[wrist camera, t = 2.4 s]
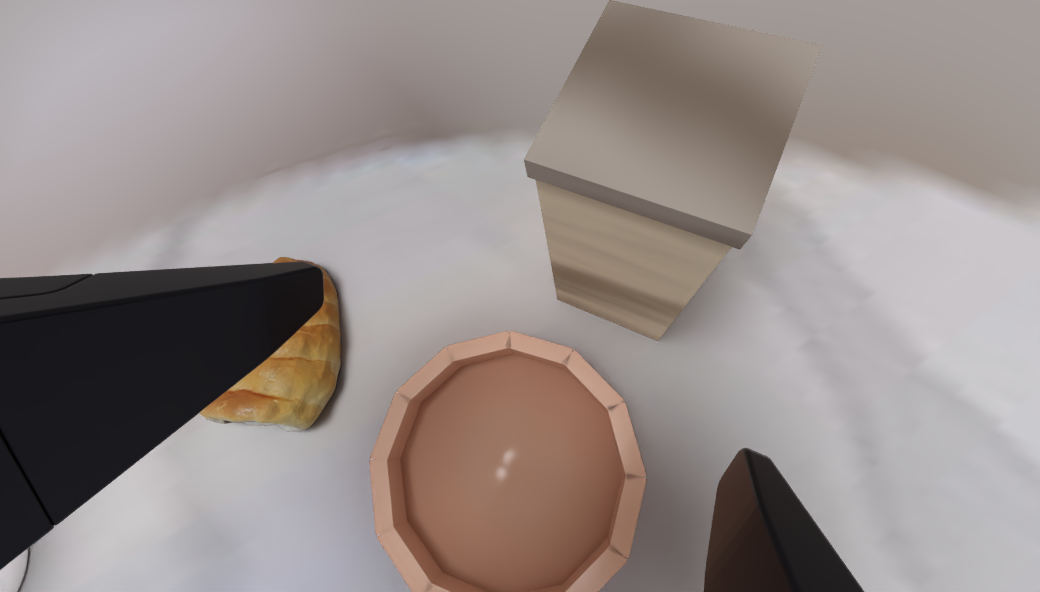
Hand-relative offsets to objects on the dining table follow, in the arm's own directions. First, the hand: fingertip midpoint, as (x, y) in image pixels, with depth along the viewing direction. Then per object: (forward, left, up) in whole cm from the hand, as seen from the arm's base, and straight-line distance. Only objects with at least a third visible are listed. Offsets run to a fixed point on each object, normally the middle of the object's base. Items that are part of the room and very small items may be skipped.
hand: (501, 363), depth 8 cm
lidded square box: (+6, -5, -14) cm, 16 cm away
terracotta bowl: (-2, +2, -13) cm, 14 cm away
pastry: (+6, +14, -14) cm, 20 cm away
